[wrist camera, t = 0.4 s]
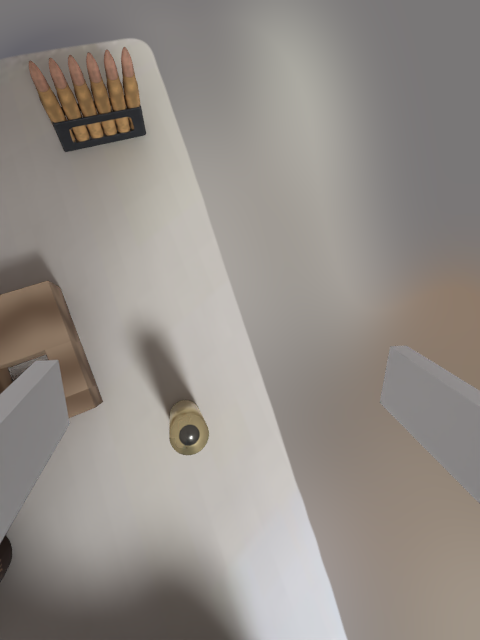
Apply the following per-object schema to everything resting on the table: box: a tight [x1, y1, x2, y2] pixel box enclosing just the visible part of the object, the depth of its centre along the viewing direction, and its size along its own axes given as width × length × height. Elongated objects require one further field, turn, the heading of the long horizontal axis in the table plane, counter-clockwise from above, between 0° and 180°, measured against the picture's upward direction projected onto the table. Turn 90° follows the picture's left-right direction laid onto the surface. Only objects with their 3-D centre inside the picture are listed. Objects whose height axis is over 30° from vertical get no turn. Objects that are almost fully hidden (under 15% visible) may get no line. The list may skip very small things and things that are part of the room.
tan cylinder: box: [170, 400, 209, 455], centre depth 36 cm, size 4×4×10 cm
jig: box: [0, 281, 103, 418], centre depth 35 cm, size 15×15×4 cm
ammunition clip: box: [29, 47, 146, 152], centre depth 36 cm, size 11×2×12 cm, turn 112°
